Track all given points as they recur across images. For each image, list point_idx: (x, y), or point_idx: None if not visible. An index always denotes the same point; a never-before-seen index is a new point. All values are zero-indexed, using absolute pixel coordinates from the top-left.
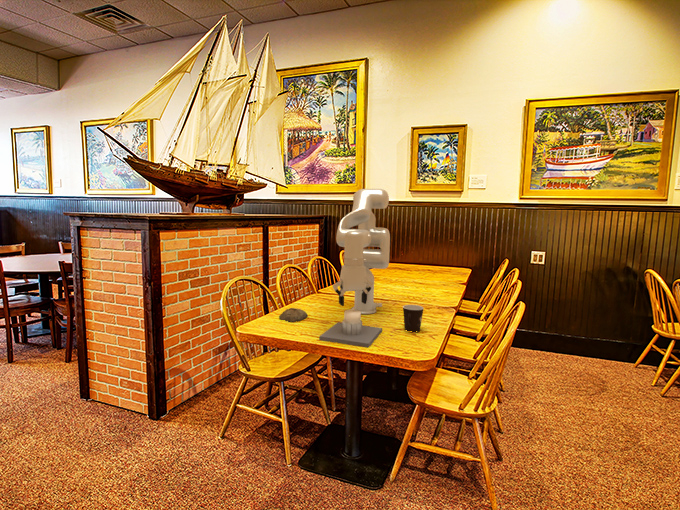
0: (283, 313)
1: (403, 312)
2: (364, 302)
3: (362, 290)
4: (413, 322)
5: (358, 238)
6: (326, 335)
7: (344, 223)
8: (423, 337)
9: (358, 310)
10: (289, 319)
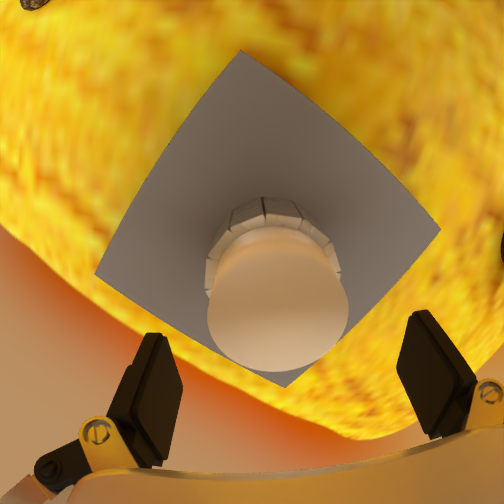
0: None
1: None
2: (399, 376)
3: (466, 425)
4: None
5: None
6: (124, 271)
7: None
8: (495, 314)
9: (343, 298)
10: (21, 4)
